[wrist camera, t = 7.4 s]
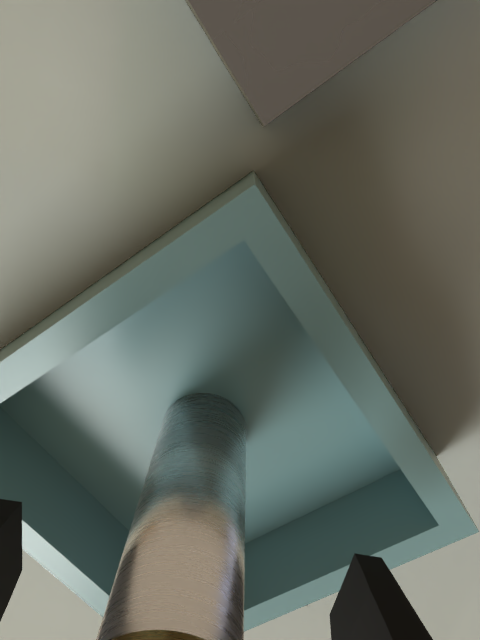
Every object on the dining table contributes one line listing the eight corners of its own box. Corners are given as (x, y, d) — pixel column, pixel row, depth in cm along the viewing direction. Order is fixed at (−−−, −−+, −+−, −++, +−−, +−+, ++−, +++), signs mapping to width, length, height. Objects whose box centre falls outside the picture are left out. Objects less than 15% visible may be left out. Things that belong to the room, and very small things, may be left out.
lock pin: (214, 378, 13) (169, 681, 6) (262, 439, 14) (276, 774, 7) (145, 418, 14) (27, 740, 7) (195, 475, 15) (139, 819, 7)
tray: (253, 170, 12) (255, 183, 9) (437, 457, 15) (479, 531, 12) (-39, 377, 14) (-109, 438, 11) (174, 582, 18) (161, 666, 15)
